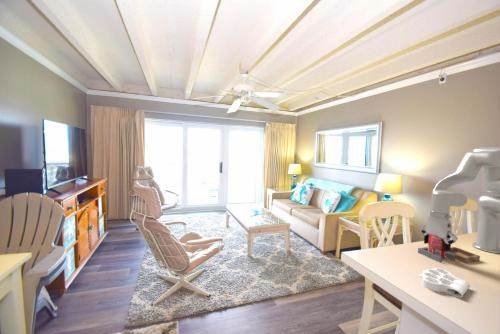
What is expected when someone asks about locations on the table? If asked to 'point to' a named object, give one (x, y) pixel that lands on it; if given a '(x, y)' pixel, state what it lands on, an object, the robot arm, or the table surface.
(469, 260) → the tray
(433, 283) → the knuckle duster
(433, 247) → the soda can
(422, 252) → the frame
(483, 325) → the table surface
